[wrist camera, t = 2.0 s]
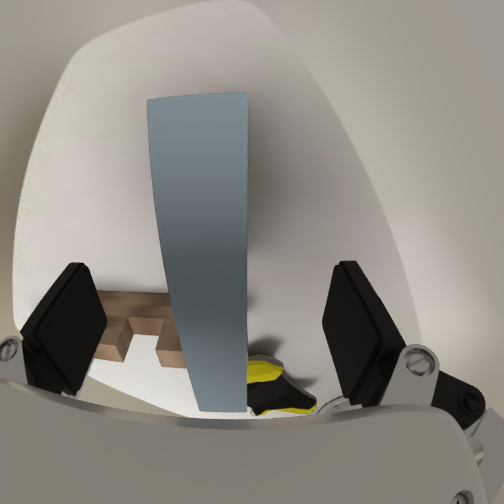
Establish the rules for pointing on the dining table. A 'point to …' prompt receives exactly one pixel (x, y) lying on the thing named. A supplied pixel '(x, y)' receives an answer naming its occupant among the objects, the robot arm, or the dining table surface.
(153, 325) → the walnut slotted plate
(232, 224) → the slate slotted plate
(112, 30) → the dining table surface
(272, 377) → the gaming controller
